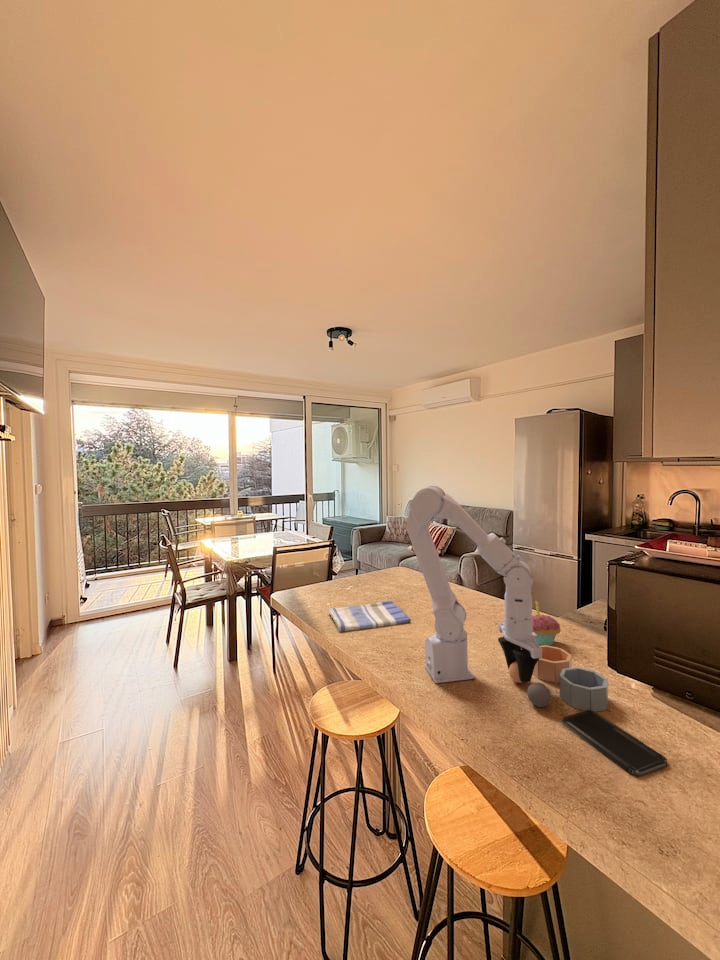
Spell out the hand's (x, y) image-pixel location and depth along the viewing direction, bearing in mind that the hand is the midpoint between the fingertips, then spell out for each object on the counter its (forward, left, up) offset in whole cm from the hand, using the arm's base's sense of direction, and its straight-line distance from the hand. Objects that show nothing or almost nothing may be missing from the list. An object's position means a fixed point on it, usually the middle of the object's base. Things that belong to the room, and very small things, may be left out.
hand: (519, 675), depth 92 cm
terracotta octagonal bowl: (+9, +2, -1) cm, 9 cm away
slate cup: (+9, -9, -1) cm, 13 cm away
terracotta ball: (0, 0, +1) cm, 1 cm away
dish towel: (-26, +46, -2) cm, 53 cm away
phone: (+5, -21, -2) cm, 22 cm away
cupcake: (+17, +17, -2) cm, 24 cm away
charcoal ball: (-1, -9, +1) cm, 9 cm away
